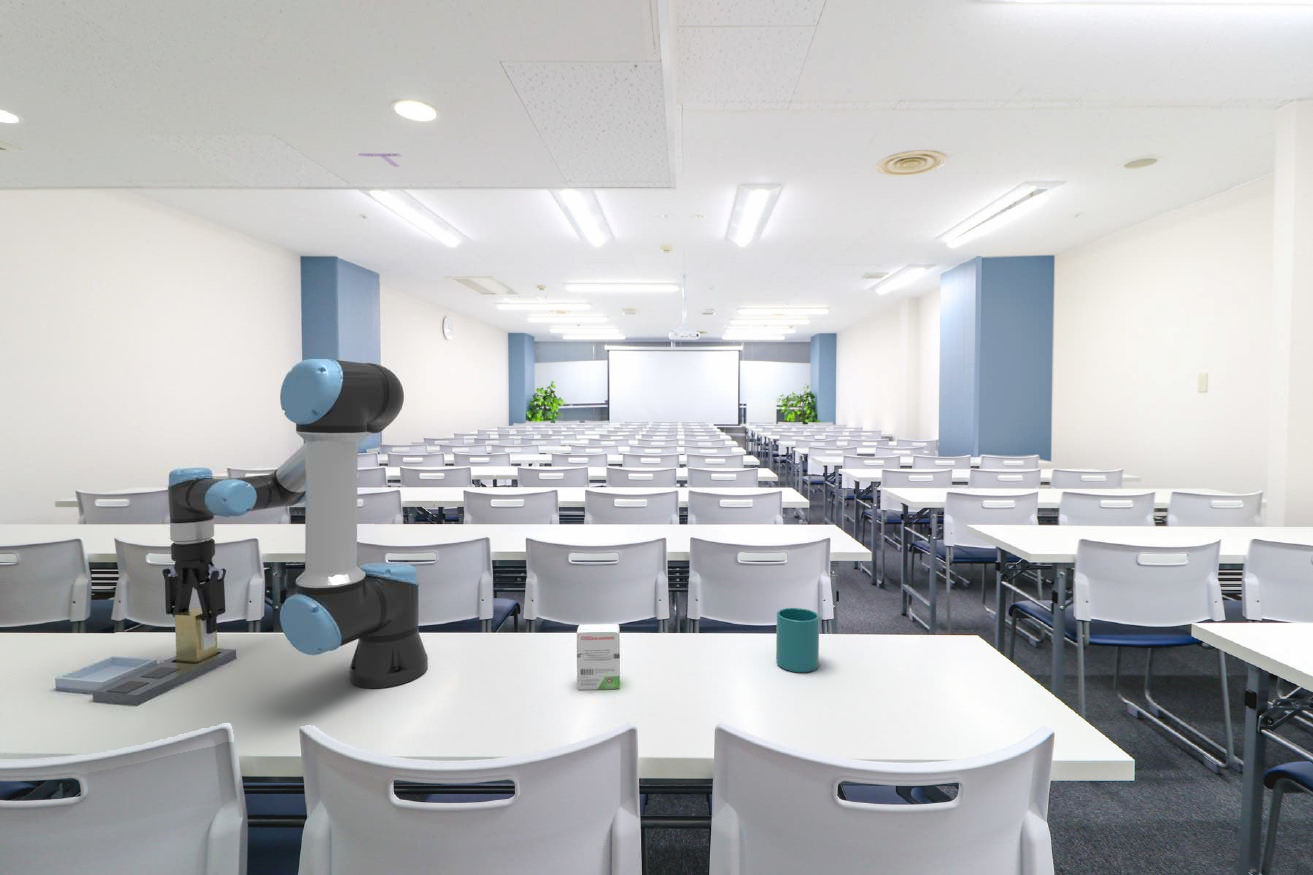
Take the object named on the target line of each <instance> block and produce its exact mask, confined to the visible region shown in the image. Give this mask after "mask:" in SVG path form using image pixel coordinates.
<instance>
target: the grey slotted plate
mask: <svg viewBox="0 0 1313 875" xmlns="http://www.w3.org/2000/svg"><path fill="white" fill-rule="evenodd" d="M217 651H218V655H215V656H213V657H211V658H209V659H207V660H204V661H202V662H200V663H198V664H186V663H177V660H176V655H174V656H172V657H171V658H170V657H169V658H168V659H166V660H162V661H161V662H160V661H159V662H157V664H156V665H153V666H151V667H148V668H146V669H144V670H141V671H139V672H137V673H134V674H132V675H129V676H127V677H125V678H122V679H120V680H118V681H115V682H113V683H110V684H108V685H106V686H103V687H101V688H99V689H96V690H94V691H92V692H93V694H92V702H95V703H107V704H116V705H117V704H118V705H127V706H137V707H138V706H140V705H143V704H144V703H146V702H148V701H150V700H152V699H154V698H157V697H159V696H161V695H163V694H165V693H167V692H169V691H171V690H174V689H175V688H178V687H180V686H182V685H184V684H186V683H188V682H190V681H192V680H194V679H196V678H197V679H198V677H201V676H203V675H205V674H207V673H209V672H211V671H213V670H215V669H217V668H220V667H221V666H223V665H226V664H228V663H230V662H232V661H234V660H236V659H238V658H237V657H238V655H237V654H238V653H237V649H235V648H234V649H233V648H220V647H217Z"/></svg>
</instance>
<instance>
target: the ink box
mask: <svg viewBox="0 0 1313 875" xmlns="http://www.w3.org/2000/svg"><path fill="white" fill-rule="evenodd" d="M620 636H621V635H620V625H619V624H618V623H615V624H611V623H610V624H578V627H577V630H576V686H577V687H576V688H577V690H578V691H590V690H591V691H592V690H595V691H598V690H619V689H620V688H621V661H620V660H621V655H620V654H621V653H620V652H621V648H620V647H621V646H620V644H621V642H620Z"/></svg>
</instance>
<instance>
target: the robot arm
mask: <svg viewBox="0 0 1313 875" xmlns="http://www.w3.org/2000/svg"><path fill="white" fill-rule="evenodd" d="M279 399H280V400H279V401H280V407H281V410H282V411H284V416H285V417H286V418H287V419H288V420H289V421H290V422H292V423H294V424H295V433H296V434H297V435H298V436H299V437H300V438H302V439H303V440H304V444H303V445H301V446H300V447H299V448H298V449H297V450H296V451H295V452H294V453H293V454H291V456H290V457H288V458H287V460H285V461H284V462H283V463H282V464H281V465H280V466H278V468H277V469H275V470H274V471H273V472H271V473H269V474H262V475H253V476H252V475H250V476H242V477H233V478H214V475H213V471H212V470H211V469H210V468H208V467H187V468H176V469H173V470H171V471H170V472H169V474H168V486H167V491H168V493H167V494H168V508H169V540H170V541H171V542H172V543H171V544H170V559H171V560H172V561H173V562H174V565H173V566H171V567H168V568H167V567H166V568H164V569H162V576H163V579H164V597H165V598H164V601H165V613H166V615H172V617H173V618H174V619H175V615H176V614H179V613H182V612H185V611H187V610H190V604H191V599H192V594H193V589H194V590H196V593H197V597H198V602H199V605H200V608H201V609H202V613H203V617H204V618H201V620H200V626H201V650H206V649H209V648H211V647H213V646H215V632H216V631H217V630H218V626H217V625H218V622H217V621H218V619H217V617H218V616H220V615H223V614H225V613H226V592H225V591H226V590H225V577H226V574H227V570H226V568H217V567H215V564H214V562H213V557H214V556H215V554H216V541H215V539H214V538H213V537H214V536H215V516H219V517H224V518H230V517H241V516H243V515H246V514H247V513H249V512H256V511H261V510H267V509H273V508H281V507H291V506H292V507H293V506H295V505H299V504H302V503H305V533H304V534H305V535H304V536H305V540H304V541H305V545H304V546H305V548H304V549H305V550H304V551H305V555H304V556H305V560H304V562H305V570H304V571H303V572H302V573H301V574H300V575H299V576H298V577H297V578H296V579H295V594H293V595H291V596H289V597H288V598H286V599H285V600H284V603H283V604H282V605H281V608H280V613H279V622H280V625H281V629H282V631H283V633H284V636H285V637H286V639H287V641H288V642H289V643H290V644H291V646H292V647H294V648H295V649H296V650H297V651H298V652H300V653H302V654H305V655H308V656H317V655H322V654H324V653H326V652H333V651H335V650H337V649H339V648H340V647H342V646H345V645H347V644H349V643H353V642H354V641H356V640H357V644H356V647H355V650H354V653H353V657H352V660H351V662H350V665H349V666H350V667H349V681H350V683H351V684H352V685H354V686H356V687H360V688H365V689H366V688H367V689H379V688H380V689H382V688H388V687H395V686H399V685H403V684H406V683H409V682H412V681H414V680H416V679H418V678H420V677H422V676H423V675H424V674H425V673H426V672H427V670H428V668H429V667H428V666H429V660H428V659H429V658H428V654H427V652H426V650H425V647H424V644H423V641H422V638H421V636H420V632H419V631H420V630H419V585H420V583H419V580H418V579H419V577H418V570H417V568H416V567H415V566H413V565H412V564H410V563H409V564H408V563H401V562H372V563H365V564H360V566H358V477H359V476H358V474H359V473H358V469H359V467H358V466H359V465H358V463H359V461H358V459H359V458H358V456H359V454H358V453H359V452H358V451H359V450H358V449H359V445H360V444H361V443H362V442H363V441H365V439H367V438H368V437H369V436H370V435H371V434H373V435H374V434H379V433H382V432H383V430H384V429H386V428H387V427H388V426H390V424H392V423H393V422H394V421H395V419H396V418H397V417H398V416H399V414H400V412H401V411H402V410H403V404H404V401H405V394H404V387H403V385H402V382H401V381H400V379H399V378H398V377H397V376H396V374H395V373H394V372H393V371H392V370H390V369H388V368H387V367H385V366H383V365H381V364H378V363H373V362H371V363H370V362H357V361H349V360H340V359H330V358H320V359H319V358H310V359H309V358H308V359H304V360H302V361H300V362H298V363H296V364H295V365H293V367H292V368H291V370H289V371H288V372H287V373H286V375H285V377H284V379H283V382H282V384H281V388H280V396H279ZM210 611H211V612H210ZM217 632H218V631H217Z"/></svg>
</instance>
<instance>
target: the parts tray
mask: <svg viewBox="0 0 1313 875" xmlns="http://www.w3.org/2000/svg"><path fill="white" fill-rule="evenodd" d="M156 664H158V659H157V658H143V657H131V656H118V655H113V656H110V657H108V658H103V659H102V660H100V661H99V660H98V661H97V662H94V663H91V664H88V665H86V666H84V667H81V668H79V669H76V670H73V671H71V672H67V673H66V674H65V673H64V674H63V675H60V676H57V677H55V678H54V679H55V680H54V682H55V683H54V684H55V691H57V692H67V693H76V694H89V695H93V692H92V691H94V690H96V689H99V688H101V687H103V686H106V685H108V684H110V683H113V682H115V681H118V680H120V679H122V678H125V677H127V676H129V675H132V674H134V673H137V672H139V671H141V670H144V669H146V668H148V667H151V666H153V665H156Z"/></svg>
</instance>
